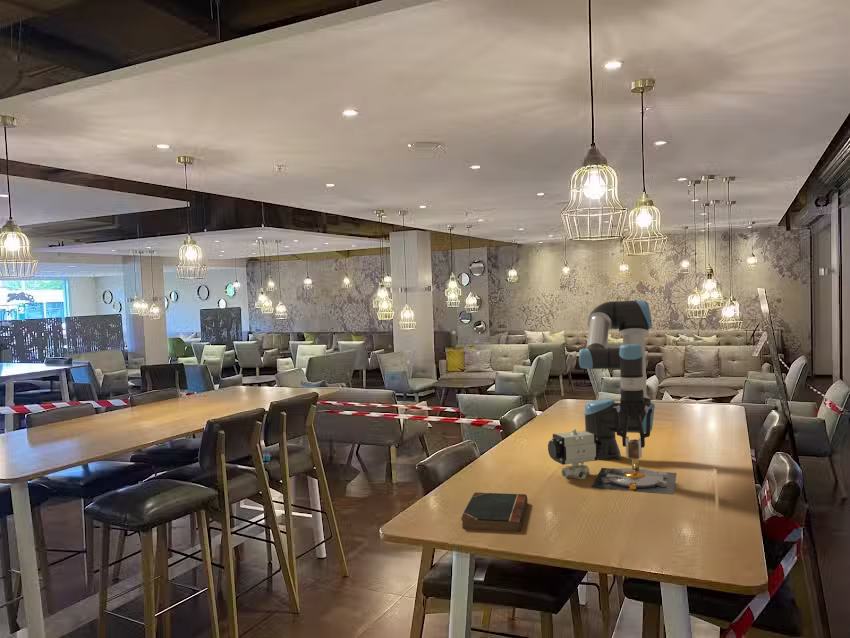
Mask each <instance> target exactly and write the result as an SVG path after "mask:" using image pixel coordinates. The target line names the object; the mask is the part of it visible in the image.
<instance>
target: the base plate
mask: <svg viewBox="0 0 850 638" xmlns="http://www.w3.org/2000/svg"><path fill="white" fill-rule="evenodd" d="M606 469H612V470H615V469H616V468H611V467H610V468H609V467H601V468H600V470H599V472H598V474H597V475H596V477H595V479H594V481H593V483H592V484H591V487H590V489H595V490H596V489H599V490H609V491H622V492H636V493H648V494H649V493H650V494H658V495H659V494H660V495H671V496H673V495H674V493H675V492H674V491H675V485H676V478H677V472H670V471H669V472H668V471H665V472H666V473H667V478H663V481H667V486H665V487H661V486H654V487H645V488H636V490H634V489H630V487H625V486H619V485H616V484H613V483H603V482H602V477H607V474H605V470H606ZM654 471H655V470H654ZM655 472H657V470H656V471H655Z"/></svg>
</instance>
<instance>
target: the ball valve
mask: <svg viewBox="0 0 850 638" xmlns="http://www.w3.org/2000/svg"><path fill="white" fill-rule="evenodd" d="M547 444H548V445H547V451H548V455H549V457H550V458H551V459H552V460H553V461H555V462H557V463H558V464H561V465H566V466H565V467H562V469H561V475H562V477H563V478H565V479H567V478H569V479H572V478H573V479H577V480H584V479H586V478H587V476H589V475H590V468H589V466H588V465H587V464H586V465H584V463H589V462H595V461H596V462H597V461H598V460H597V457H598V454H600V452H601V450H602V445H601V441H600V439H599V437H598V436H596V434H594V433H591V432H589V431H585V430H580V431H578V430H577V429H576V428H572V430H571V431H569V432H560V433H552V438H551V440H549V441H548V443H547Z"/></svg>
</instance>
